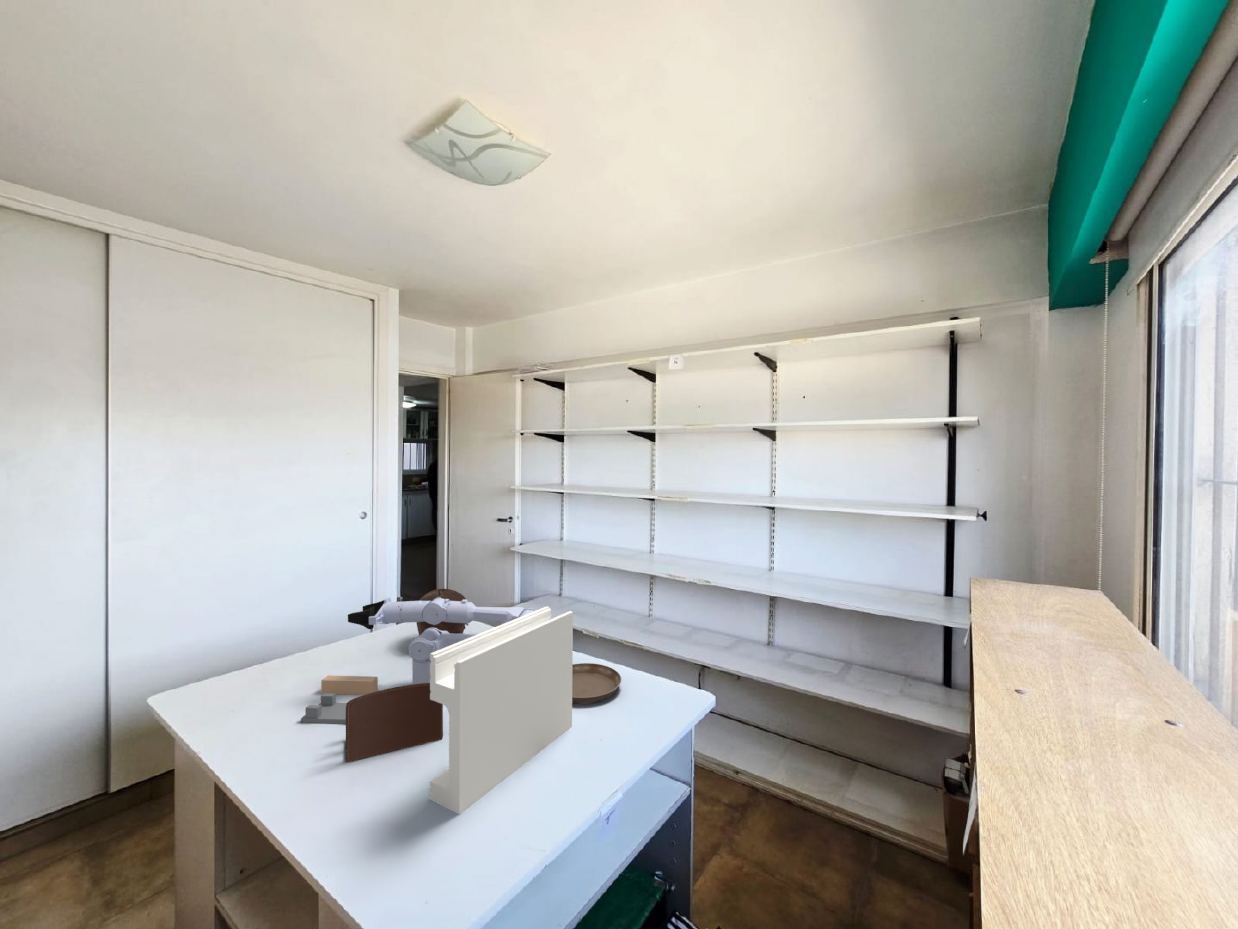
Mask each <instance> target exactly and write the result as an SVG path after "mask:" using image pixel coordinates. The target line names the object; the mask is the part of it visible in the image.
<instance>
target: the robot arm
mask: <svg viewBox="0 0 1238 929" xmlns="http://www.w3.org/2000/svg"><path fill="white" fill-rule="evenodd" d="M534 611H536V609H534V608H531V607H527V608H525V607H523V606H522V607H521V606H514V607H512V606H510V607H507V606H506V607H505V606H504V607H502V606H501V607H500V606H497V607H494V606H476V604H474V603H473V602H472V601H468V599H466V600H464V599H463V600H462V601H449V599H442V598H441V597H437V598H435V599H434V600H433V601H419V600H409V601H408V600H407V601H391V598H390V597H385V598H384V599H383V600H381V601H378V602H374V603H369V604H365V605H363V606H362V611H361V610H360V611H357V612H352V613H351V612H350V613H348V614H347V623H350V624H353V625H354V624H355V625H359V626H362V627H365V629H367V630H372V629H374V628H375V625H378V624H379V625H389V624H396V623H397V624H402V623H403V624H404V623H416V622H427V623H429V624H433V625H437V624H439V623H440V622H442V621H444V622H452V623H468V624H470V623H471V622H473V621H474V620H476V621H477V620H478V621H485V622H494V623H500V624H501V625H502V624H504V623H507V622H509V621H512V620H514V619H517V618H519V617H522V616H524V615H527V614H529V613H532V612H534ZM480 633H481V632H479V633H463V634H450V633H449V632H448V631H441V630H439V629H437V628H428V629H426V630H425V631H424V632H423V633H422V634H421V635H420V636H419V635H418V636H417V637H416V638H415V639H413V640H412V641H411V642H410V644H409V646H408V654H409V656H410V658H411V659H412V661H411V662H412V667H411V668H412V678H411V679H412V681H411V682H412V684H420V683H430V678H431V676H430V663H431V660H430V654H431V653H433V652H435V651H438V650H440V649H443V648H445V647H448V646H450V645H453V644H455V643H458V642H460V641H463V640H465V639H467V638H470V637H472V636H475V635H477V634H480ZM412 684H411V685H412Z"/></svg>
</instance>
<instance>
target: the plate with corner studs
mask: <svg viewBox="0 0 1238 929" xmlns="http://www.w3.org/2000/svg"><path fill="white" fill-rule="evenodd" d="M336 697H337V694H335V693H324V694H321V695H320V703H318V704H308V705H307V706H306V707H305V715H303V716H302V717H301V718H300V722H301V723H305V724H306V723H307V724H345V725H346V704H347V703H348V702H337V701H336V700H337V698H336Z"/></svg>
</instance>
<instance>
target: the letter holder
mask: <svg viewBox="0 0 1238 929" xmlns="http://www.w3.org/2000/svg"><path fill="white" fill-rule="evenodd" d="M430 693H431V691H430V683H420V684H407V685H405V684H404V685H400V686H395V687H389V688H384V689H382V690H381V689H380V690H377V691H376V692H373V693H370V694H366V695H359V696H357V697H355V698H352V699H350V700H348V701H347V702H346V703H347V704H346V724H345V762H346V763H351V762H355V761H358V760H363V759H367V758H370V757H375V756H378V755H383V754H387V753H390V752H392V753H393V752H396V751H399V750H404V749H408V748H412V747H417V746H419V745H420V746H421V745H425V744H429V743H433V742H436V741H437V742H438V741H441V740H443V737H444V712H443V711H444V707H443V706H444V705H443V704H441V703H438V702H436V701H433V700H430Z"/></svg>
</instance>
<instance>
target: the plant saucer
mask: <svg viewBox="0 0 1238 929" xmlns="http://www.w3.org/2000/svg"><path fill="white" fill-rule="evenodd" d="M621 683H622V677H621V675H620V673H619V671H617V670H616V669H614V668H612V667H609V666H607V665H604V664H600V663H588V662H587V663H586V662H584V663H574V664H573V663H572V704H578V705H579V704H581V705H582V704H585V705H586V704H592V703H593V704H594V703H598V702H601V701H604V700H606V699H608V698H609V697H611V695H613V694H614V693H615V692H616V690H617V689H619V686H620V685H621Z"/></svg>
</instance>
